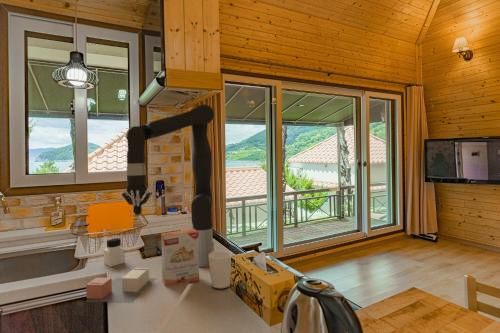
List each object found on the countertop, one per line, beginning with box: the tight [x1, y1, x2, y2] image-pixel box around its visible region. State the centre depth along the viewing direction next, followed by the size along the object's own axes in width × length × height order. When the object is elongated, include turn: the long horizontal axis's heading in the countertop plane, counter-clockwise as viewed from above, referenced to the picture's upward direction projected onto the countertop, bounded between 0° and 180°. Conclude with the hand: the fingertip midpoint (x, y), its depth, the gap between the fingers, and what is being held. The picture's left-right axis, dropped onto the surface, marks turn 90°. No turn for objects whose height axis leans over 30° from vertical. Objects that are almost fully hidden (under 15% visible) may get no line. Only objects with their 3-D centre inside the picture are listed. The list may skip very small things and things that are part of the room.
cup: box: [208, 250, 234, 291], centre depth 115 cm, size 10×10×13 cm
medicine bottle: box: [103, 237, 126, 268], centre depth 142 cm, size 7×7×12 cm
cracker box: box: [160, 228, 200, 287], centre depth 118 cm, size 14×6×21 cm, turn 118°
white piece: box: [86, 267, 157, 304], centre depth 112 cm, size 17×20×6 cm
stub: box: [85, 277, 113, 299], centre depth 107 cm, size 6×6×5 cm
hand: (137, 214), depth 125 cm, fingers closed
